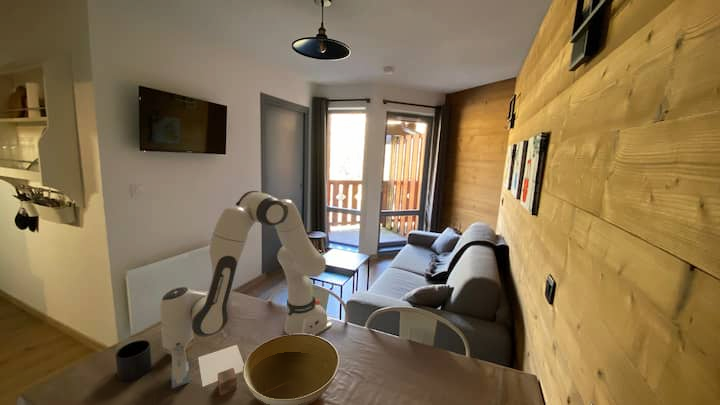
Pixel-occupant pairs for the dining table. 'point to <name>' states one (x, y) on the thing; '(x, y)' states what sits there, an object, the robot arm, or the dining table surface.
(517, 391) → the dining table surface
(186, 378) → the cube
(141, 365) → the mug
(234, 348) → the cream flat square panel
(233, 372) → the block
